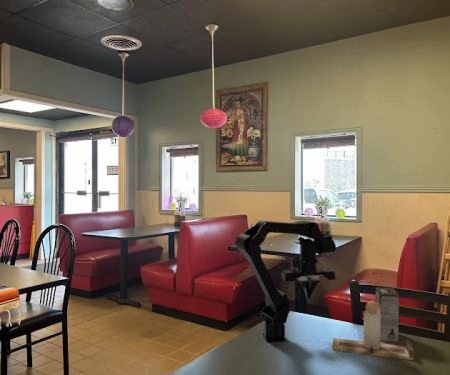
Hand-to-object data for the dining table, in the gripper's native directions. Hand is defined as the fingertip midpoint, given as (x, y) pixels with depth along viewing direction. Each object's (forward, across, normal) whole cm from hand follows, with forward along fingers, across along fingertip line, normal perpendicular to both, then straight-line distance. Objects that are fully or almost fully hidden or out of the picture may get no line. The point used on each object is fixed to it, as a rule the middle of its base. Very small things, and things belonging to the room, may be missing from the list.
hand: (308, 298), depth 141 cm
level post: (+11, -15, +18) cm, 26 cm away
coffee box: (+12, -26, +8) cm, 30 cm away
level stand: (+12, -15, +18) cm, 26 cm away
